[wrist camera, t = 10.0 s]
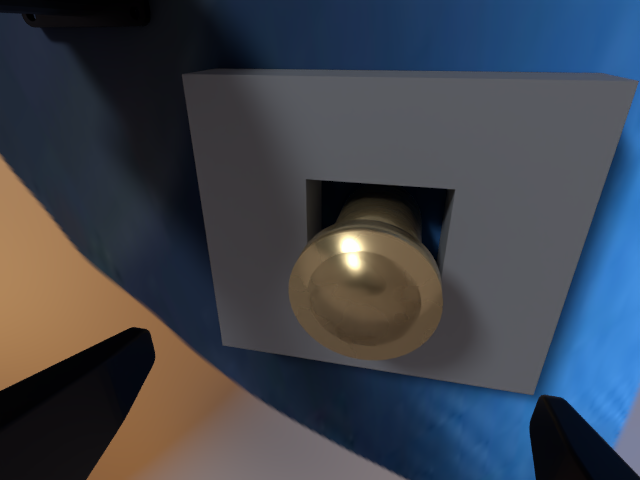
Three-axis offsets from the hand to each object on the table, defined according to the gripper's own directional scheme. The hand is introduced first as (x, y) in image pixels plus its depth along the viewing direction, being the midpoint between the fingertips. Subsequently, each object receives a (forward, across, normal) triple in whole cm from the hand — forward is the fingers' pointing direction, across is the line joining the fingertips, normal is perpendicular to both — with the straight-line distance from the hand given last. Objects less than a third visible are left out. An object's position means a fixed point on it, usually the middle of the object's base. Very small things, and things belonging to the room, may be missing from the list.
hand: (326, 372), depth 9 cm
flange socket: (+12, 0, +2) cm, 12 cm away
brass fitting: (+12, 0, +2) cm, 12 cm away
